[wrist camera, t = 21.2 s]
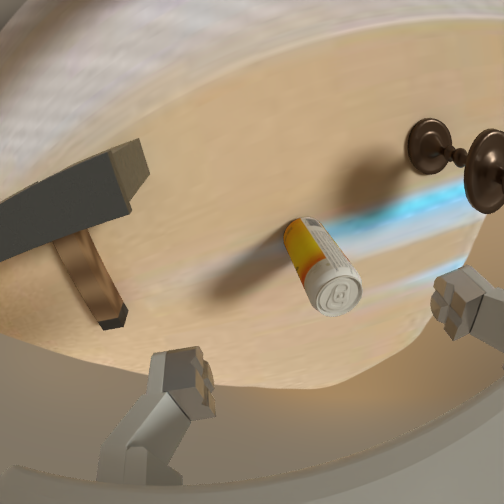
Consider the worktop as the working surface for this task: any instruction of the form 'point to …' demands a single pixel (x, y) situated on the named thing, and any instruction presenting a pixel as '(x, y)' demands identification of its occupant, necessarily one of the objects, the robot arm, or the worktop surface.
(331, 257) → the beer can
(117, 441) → the robot arm
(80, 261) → the rod
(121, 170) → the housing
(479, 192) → the candlestick
